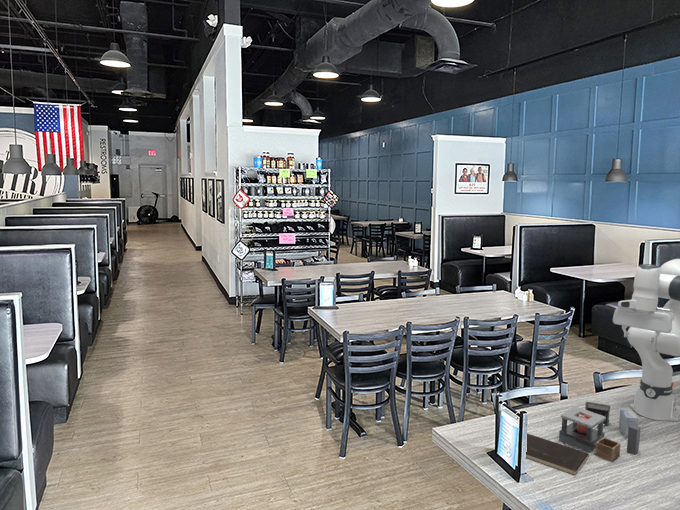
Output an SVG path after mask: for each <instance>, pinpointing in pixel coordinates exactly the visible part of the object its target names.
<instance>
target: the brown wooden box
mask: <svg viewBox="0 0 680 510" xmlns="http://www.w3.org/2000/svg"><path fill="white" fill-rule="evenodd" d="M594 450H595V451H594V456H597V457H600V458H602V459H604V460H607V461H609V462H612V463H613V462H614V461H615V460H617V459H618V458H619V457H620V455H621V443H620V442H618V441H615V440H612V439H610V438H606V437H605V436H604V437H603V438H601V439H600V440H599V441H597V442H596V448H595V449H594Z"/></svg>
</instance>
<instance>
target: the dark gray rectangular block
mask: <svg viewBox="0 0 680 510" xmlns="http://www.w3.org/2000/svg"><path fill="white" fill-rule="evenodd" d="M641 428H642V427H641V426H639V425H638V426H635V425H631V426H629V430H628V438H627V444H626V453H628V454H629V453H630V454H631V455H634V456H636V455H637V454H638V453H639V451H640V438H641V430H642V429H641Z"/></svg>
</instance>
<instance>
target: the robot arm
mask: <svg viewBox="0 0 680 510" xmlns="http://www.w3.org/2000/svg"><path fill="white" fill-rule="evenodd" d="M635 271H636V272H635V273H634V274H635V275H634V280H633V293H632V295H631V299H625V300H620V301H618V303H617V306H618V307H616V308H615V309H614V312H613V317H612V323H613V324H614V325H619V326H621V329H622V331H623V338H627V342H629V344H630V345H631V346H632V347H633V348H634V349H635V350H636V351H637V353H638V355H639V358H640V360H641V366H642V367H641V368H642V370H641V379H640V380H639V381H640V382H639V388H638V389H636V390H635V394H634V400H633V401H634V402H632V403H630V405H629V407H630V408H632V409H633V410H634V412H636V413H637V414H638V415H640V416H642V417H644V418H648V419H651V420H656V421H672V422H678V421H679V420H680V406H679V405H677V397H676V395H674V394H673V392H674V390H673V388H674V385H675V383H674V382H673V381H672V380H673V373H674V371H673V368H672V365H671V364H670V363H669V362H668V361H666V359H664V358H663V357H662V356H661V354H664V355H668V356H673V357H680V258H673V259H670V260H668V261H666V262H664V263H663V264H662V265H661V266H658V265H656V264H652V263H651V264H650V263H647V264H646V263H644V264H643V263H642V264H639V265H638V266H637V268H636V270H635ZM659 298H661V299H667V300H668V301H667V302H666V303H665V304H664V305H663V307H658V303H659ZM627 327H628V330H627Z"/></svg>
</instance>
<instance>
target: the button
mask: <svg viewBox="0 0 680 510" xmlns="http://www.w3.org/2000/svg"><path fill="white" fill-rule="evenodd" d="M579 417H580V418H582V419H585V420H588V418H586V417H584V416H583V415H581V416H580V415H579ZM577 431H578V432H580V433H587V427H586V426H583V425H580V424H578V423H577Z"/></svg>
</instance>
